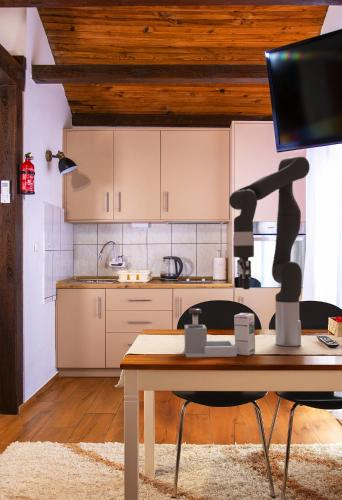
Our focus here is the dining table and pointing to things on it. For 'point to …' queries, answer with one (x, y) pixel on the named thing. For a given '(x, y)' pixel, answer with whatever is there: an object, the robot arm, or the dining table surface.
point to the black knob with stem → (195, 316)
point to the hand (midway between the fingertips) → (244, 288)
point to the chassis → (206, 344)
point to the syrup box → (244, 333)
